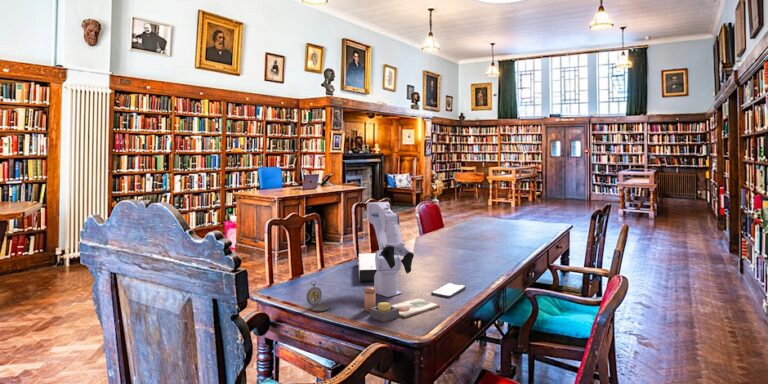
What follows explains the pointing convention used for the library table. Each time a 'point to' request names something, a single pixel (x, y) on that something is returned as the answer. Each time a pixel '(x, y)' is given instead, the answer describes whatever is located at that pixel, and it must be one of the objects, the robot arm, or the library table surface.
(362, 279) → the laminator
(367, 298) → the brown cylinder
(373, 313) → the button base
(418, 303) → the colouring board
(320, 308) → the pocket watch
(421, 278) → the library table surface
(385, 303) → the button
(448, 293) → the phone case
